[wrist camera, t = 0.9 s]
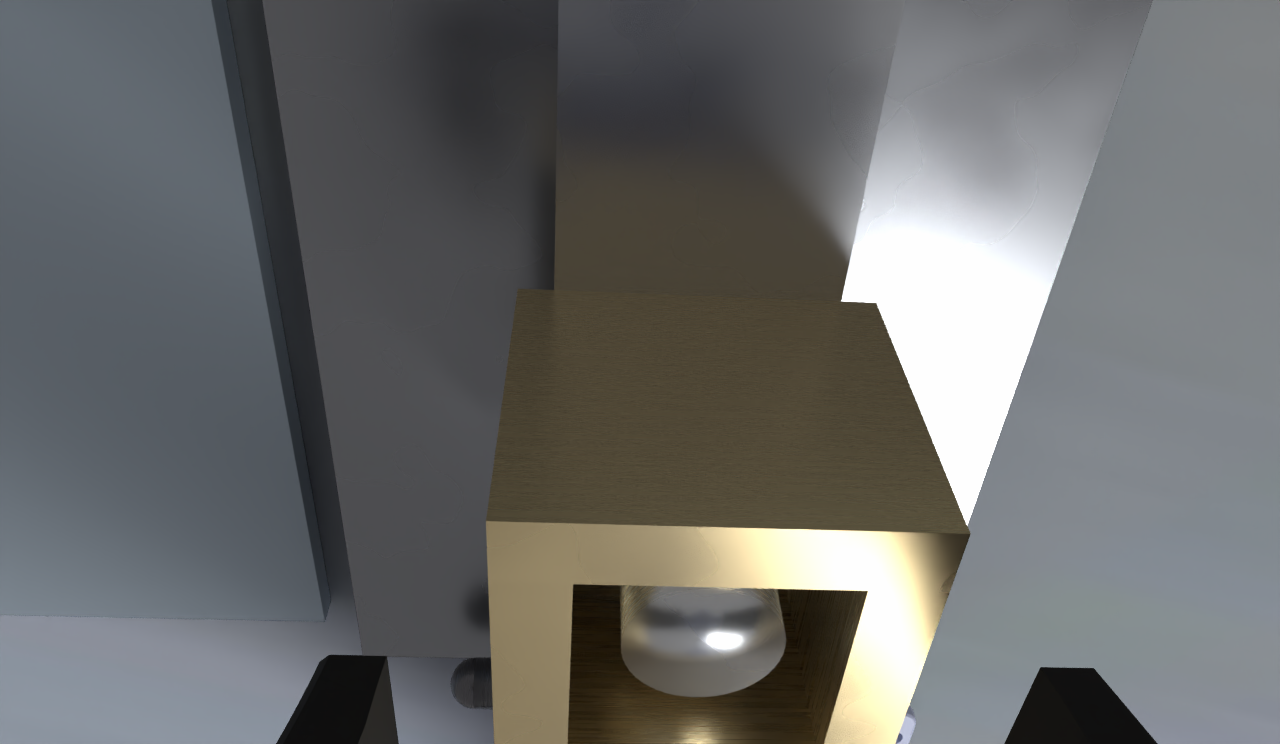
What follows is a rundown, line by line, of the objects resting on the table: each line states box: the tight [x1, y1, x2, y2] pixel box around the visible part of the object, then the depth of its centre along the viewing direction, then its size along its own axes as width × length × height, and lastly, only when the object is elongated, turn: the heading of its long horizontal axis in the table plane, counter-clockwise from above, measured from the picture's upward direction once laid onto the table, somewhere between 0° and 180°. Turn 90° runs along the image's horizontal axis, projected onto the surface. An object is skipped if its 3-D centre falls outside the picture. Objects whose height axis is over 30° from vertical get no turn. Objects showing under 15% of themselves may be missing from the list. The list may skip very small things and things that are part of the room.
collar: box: [486, 289, 970, 744], centre depth 14 cm, size 5×5×4 cm
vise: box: [262, 0, 1153, 709], centre depth 15 cm, size 16×12×8 cm
